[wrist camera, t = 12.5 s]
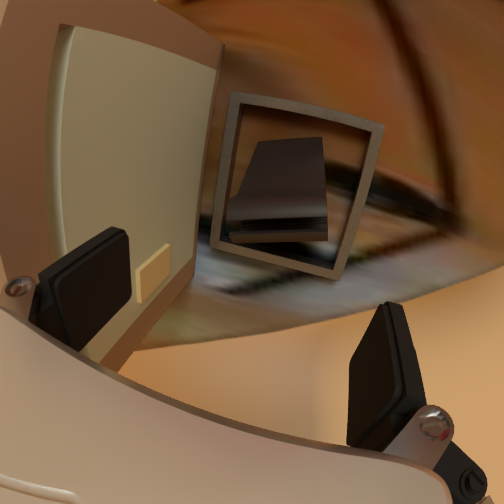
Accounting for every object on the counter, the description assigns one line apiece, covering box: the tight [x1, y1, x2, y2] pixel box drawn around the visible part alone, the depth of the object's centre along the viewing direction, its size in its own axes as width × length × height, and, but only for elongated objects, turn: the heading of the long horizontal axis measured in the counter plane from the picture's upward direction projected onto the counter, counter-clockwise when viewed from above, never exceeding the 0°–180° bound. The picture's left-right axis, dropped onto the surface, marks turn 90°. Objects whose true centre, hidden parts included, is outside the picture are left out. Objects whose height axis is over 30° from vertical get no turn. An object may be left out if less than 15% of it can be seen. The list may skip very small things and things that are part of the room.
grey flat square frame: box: [209, 91, 385, 281], centre depth 27 cm, size 14×16×2 cm
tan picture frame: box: [0, 0, 225, 373], centre depth 19 cm, size 4×26×23 cm, turn 170°
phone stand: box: [227, 137, 328, 243], centre depth 22 cm, size 9×6×12 cm, turn 7°
